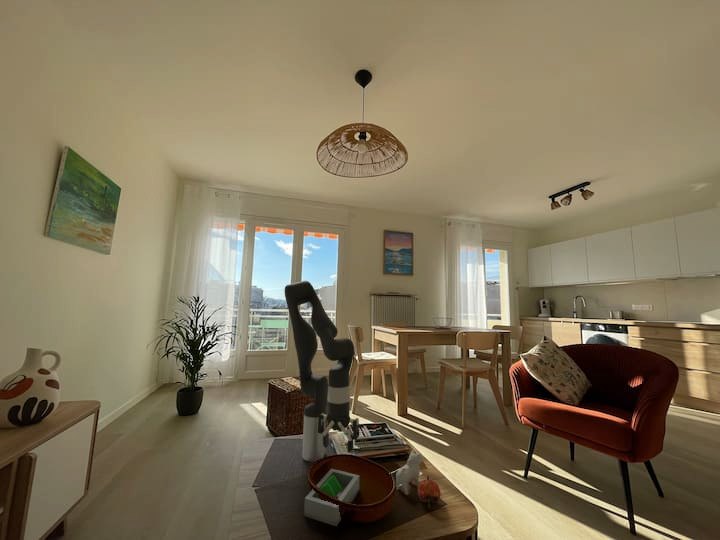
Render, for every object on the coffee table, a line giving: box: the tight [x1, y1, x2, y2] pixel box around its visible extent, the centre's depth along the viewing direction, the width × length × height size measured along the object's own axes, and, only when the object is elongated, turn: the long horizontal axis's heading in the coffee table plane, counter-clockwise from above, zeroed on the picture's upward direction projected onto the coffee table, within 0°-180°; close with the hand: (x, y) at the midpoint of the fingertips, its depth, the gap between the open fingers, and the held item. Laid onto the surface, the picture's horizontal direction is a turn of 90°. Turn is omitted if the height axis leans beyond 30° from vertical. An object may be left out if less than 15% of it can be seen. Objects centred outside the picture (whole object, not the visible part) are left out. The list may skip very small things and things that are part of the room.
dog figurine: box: [396, 449, 423, 496], centre depth 108 cm, size 5×13×11 cm, turn 137°
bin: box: [303, 468, 360, 527], centre depth 97 cm, size 18×11×5 cm, turn 158°
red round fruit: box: [417, 475, 442, 508], centre depth 98 cm, size 7×7×10 cm
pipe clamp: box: [315, 475, 342, 499], centre depth 98 cm, size 11×4×5 cm
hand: (338, 448), depth 99 cm, fingers open, 8 cm apart
